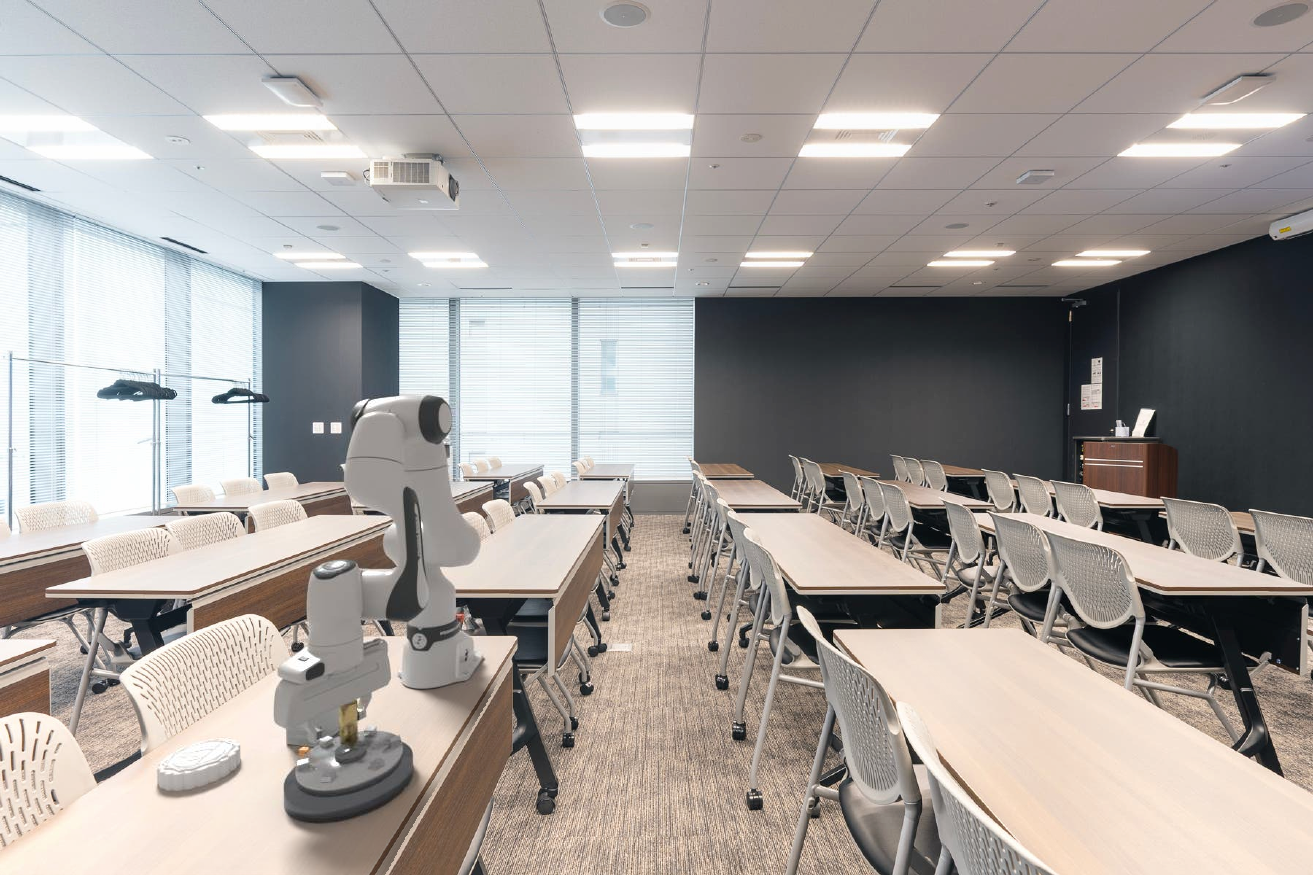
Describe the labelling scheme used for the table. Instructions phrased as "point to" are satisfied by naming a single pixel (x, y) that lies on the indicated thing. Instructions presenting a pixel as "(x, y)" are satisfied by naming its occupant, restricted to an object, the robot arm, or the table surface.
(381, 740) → the studded round base
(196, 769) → the mooncake
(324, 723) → the supplement box
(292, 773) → the grey round platform
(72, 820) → the table surface
